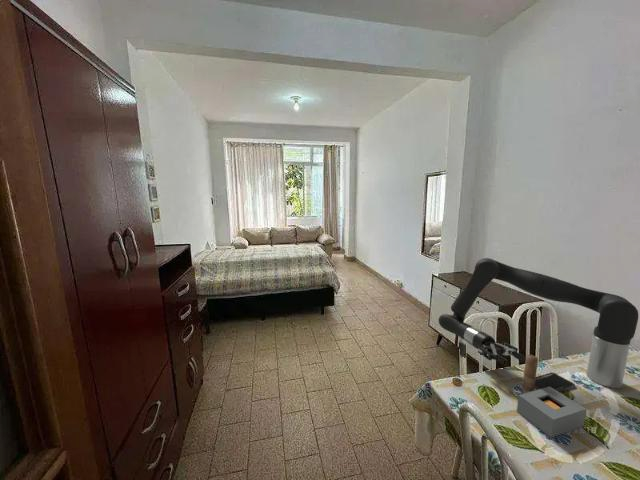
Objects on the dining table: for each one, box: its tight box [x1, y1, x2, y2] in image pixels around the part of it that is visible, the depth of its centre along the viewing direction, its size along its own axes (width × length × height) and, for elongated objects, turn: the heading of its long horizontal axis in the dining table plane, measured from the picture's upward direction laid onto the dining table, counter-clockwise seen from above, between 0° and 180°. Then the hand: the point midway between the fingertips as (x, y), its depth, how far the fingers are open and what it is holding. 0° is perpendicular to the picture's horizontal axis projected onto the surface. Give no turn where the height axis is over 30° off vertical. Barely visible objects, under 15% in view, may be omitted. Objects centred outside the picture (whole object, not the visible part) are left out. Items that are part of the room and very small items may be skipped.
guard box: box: [516, 387, 587, 439], centre depth 82 cm, size 14×10×6 cm
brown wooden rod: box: [521, 354, 539, 394], centre depth 92 cm, size 3×3×14 cm
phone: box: [534, 372, 576, 393], centre depth 98 cm, size 8×1×15 cm
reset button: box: [543, 400, 560, 409], centre depth 82 cm, size 4×4×4 cm
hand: (515, 361), depth 97 cm, fingers open, 8 cm apart
